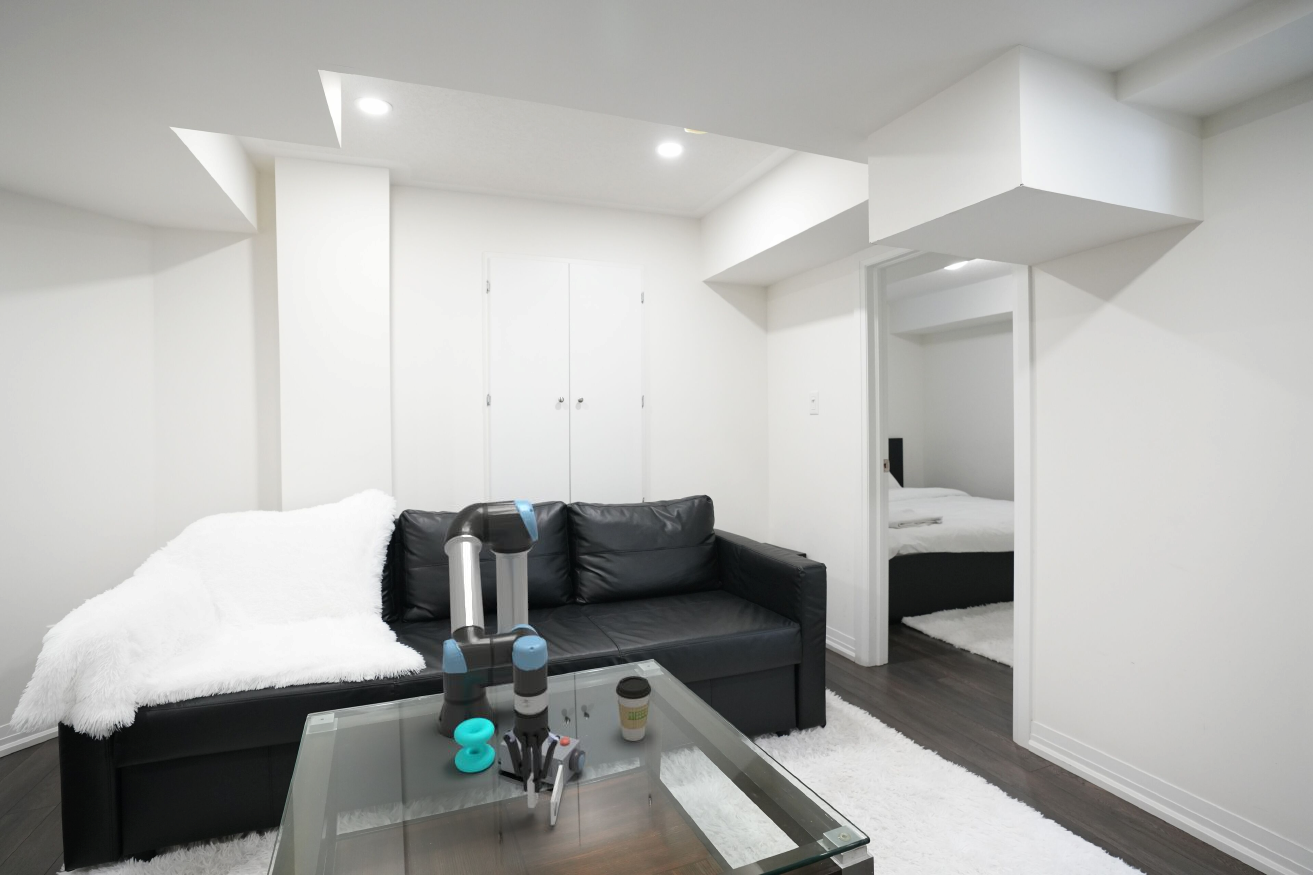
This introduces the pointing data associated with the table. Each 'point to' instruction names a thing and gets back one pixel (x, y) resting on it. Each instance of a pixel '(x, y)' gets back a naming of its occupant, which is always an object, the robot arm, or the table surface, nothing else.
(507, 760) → the grey boxy piece
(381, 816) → the table surface
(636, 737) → the coffee cup
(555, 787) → the side door
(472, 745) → the donuts
